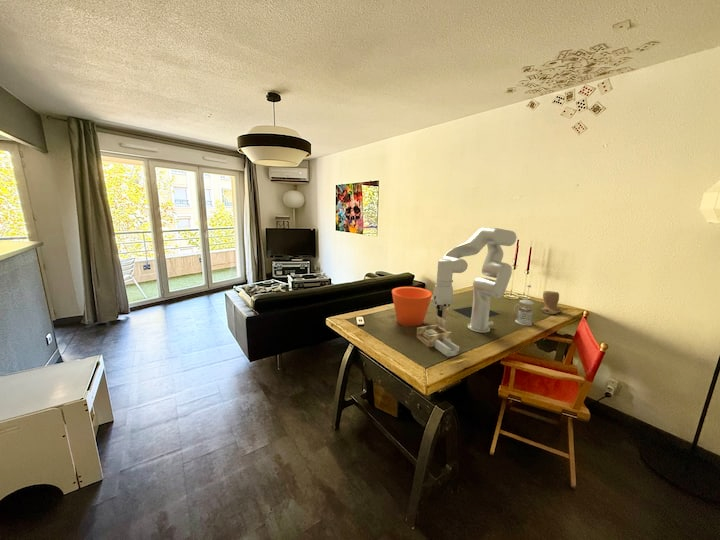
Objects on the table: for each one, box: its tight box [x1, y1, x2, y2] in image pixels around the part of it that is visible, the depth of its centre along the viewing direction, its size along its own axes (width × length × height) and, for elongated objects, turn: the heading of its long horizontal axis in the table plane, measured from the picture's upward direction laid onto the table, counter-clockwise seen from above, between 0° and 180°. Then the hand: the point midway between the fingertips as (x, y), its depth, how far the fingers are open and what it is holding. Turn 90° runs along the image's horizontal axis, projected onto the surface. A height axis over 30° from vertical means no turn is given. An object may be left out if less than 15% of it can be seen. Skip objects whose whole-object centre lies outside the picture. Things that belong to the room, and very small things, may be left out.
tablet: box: [451, 306, 502, 320], centre depth 191 cm, size 27×1×20 cm
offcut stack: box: [423, 329, 438, 341], centre depth 143 cm, size 5×7×6 cm
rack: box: [416, 324, 453, 348], centre depth 144 cm, size 14×11×7 cm
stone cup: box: [540, 290, 562, 315], centre depth 193 cm, size 15×12×15 cm
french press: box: [513, 284, 535, 326], centre depth 172 cm, size 10×12×25 cm
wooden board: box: [434, 305, 449, 330], centre depth 144 cm, size 2×7×12 cm, turn 22°
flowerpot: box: [391, 286, 433, 328], centre depth 169 cm, size 25×25×20 cm
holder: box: [433, 338, 460, 358], centre depth 134 cm, size 7×10×5 cm, turn 22°
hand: (441, 315), depth 144 cm, fingers closed on wooden board, 2 cm apart
